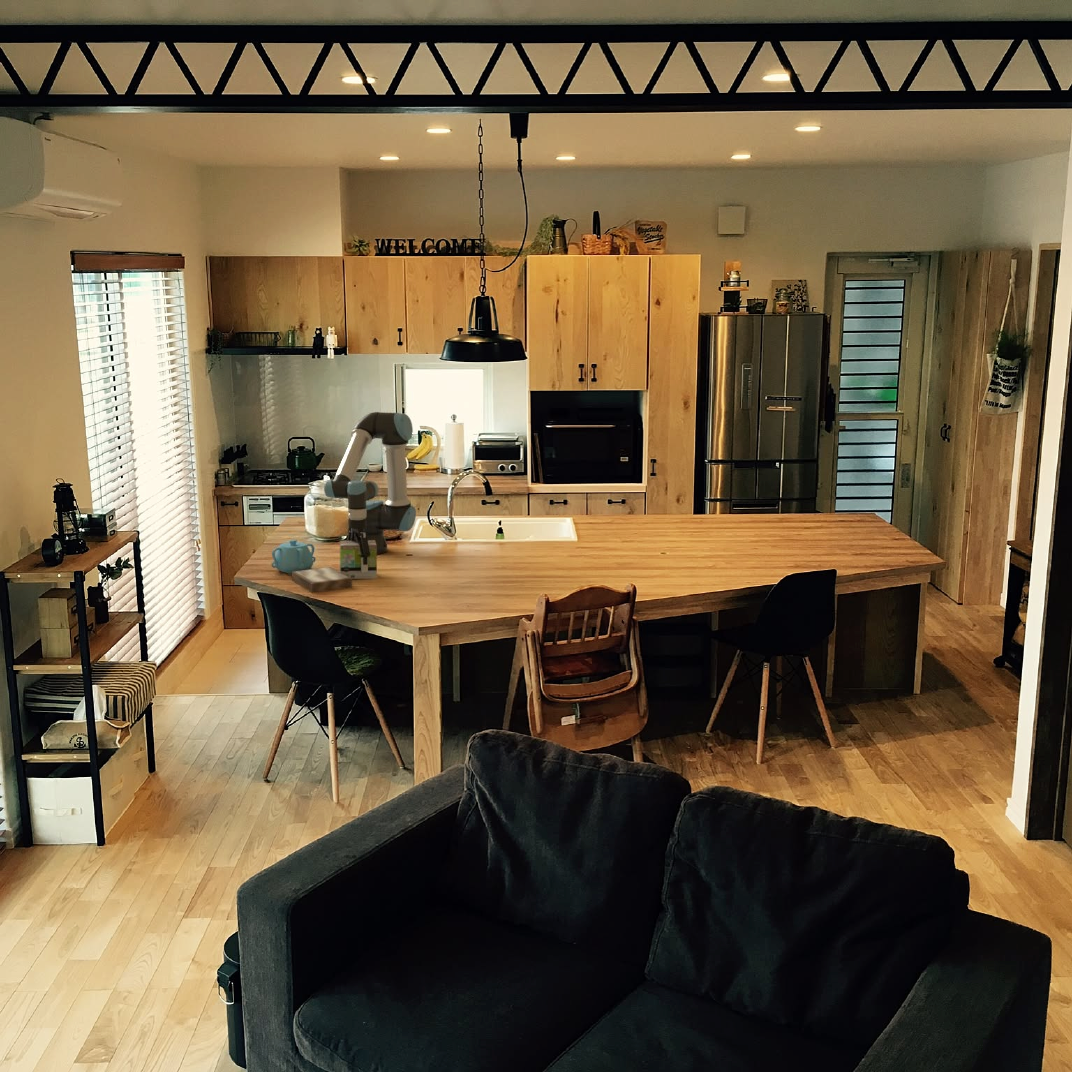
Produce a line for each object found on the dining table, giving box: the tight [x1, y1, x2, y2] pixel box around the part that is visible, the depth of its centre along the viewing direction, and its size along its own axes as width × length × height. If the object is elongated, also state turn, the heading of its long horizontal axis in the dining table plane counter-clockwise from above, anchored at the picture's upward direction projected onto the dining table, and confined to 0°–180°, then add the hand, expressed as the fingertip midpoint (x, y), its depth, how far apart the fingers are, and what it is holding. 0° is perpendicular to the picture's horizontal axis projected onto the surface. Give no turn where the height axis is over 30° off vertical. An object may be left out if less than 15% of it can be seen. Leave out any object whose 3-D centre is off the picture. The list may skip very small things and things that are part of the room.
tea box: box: [339, 540, 378, 580], centre depth 477 cm, size 15×10×15 cm
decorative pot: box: [270, 539, 316, 575], centre depth 485 cm, size 16×16×14 cm
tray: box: [291, 566, 353, 594], centre depth 465 cm, size 17×22×4 cm
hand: (358, 568), depth 478 cm, fingers closed on tea box, 12 cm apart
